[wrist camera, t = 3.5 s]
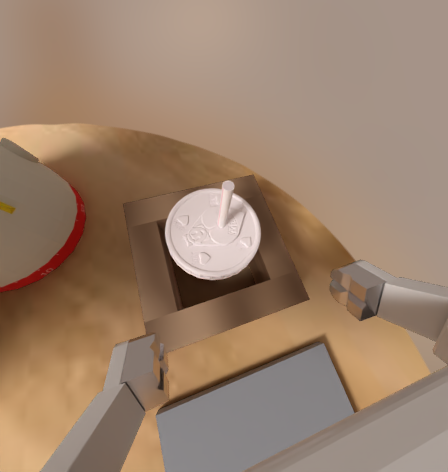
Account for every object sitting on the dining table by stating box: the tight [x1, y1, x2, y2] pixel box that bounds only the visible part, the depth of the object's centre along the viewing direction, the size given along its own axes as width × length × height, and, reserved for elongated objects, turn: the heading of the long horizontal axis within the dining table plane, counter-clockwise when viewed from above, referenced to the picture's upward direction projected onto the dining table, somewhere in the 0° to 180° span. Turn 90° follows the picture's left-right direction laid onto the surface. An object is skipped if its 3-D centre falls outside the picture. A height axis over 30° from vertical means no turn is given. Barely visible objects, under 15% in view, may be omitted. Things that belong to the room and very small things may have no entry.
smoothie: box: [165, 181, 261, 280], centre depth 15 cm, size 6×6×14 cm
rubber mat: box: [156, 342, 354, 472], centre depth 16 cm, size 16×13×1 cm
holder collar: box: [123, 175, 309, 353], centre depth 19 cm, size 13×13×5 cm
